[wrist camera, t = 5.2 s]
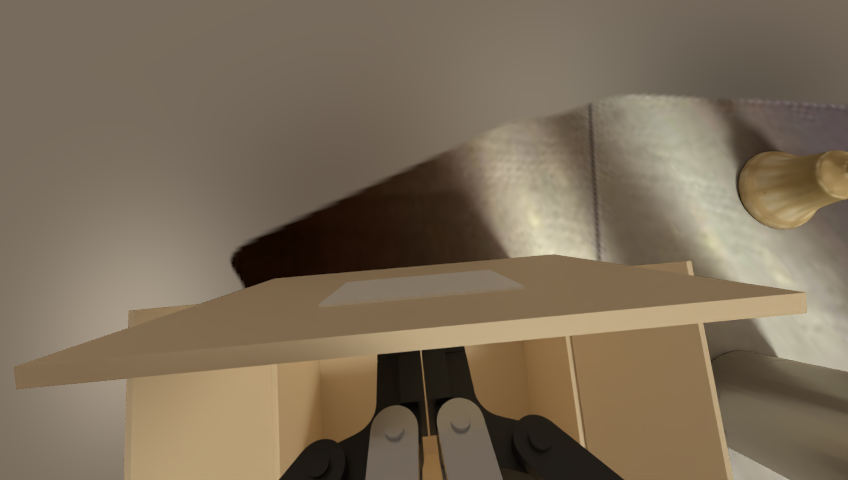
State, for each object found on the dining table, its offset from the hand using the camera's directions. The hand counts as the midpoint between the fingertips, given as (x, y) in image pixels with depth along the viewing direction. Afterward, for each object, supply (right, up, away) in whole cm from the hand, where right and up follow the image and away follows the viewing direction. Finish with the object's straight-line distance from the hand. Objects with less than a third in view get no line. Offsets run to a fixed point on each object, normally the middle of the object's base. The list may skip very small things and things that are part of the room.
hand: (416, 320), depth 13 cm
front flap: (0, +1, +2) cm, 2 cm away
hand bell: (+37, +8, +22) cm, 44 cm away
